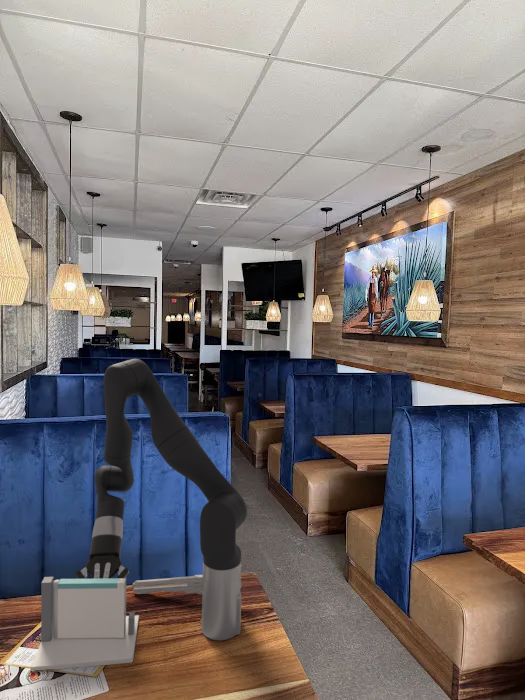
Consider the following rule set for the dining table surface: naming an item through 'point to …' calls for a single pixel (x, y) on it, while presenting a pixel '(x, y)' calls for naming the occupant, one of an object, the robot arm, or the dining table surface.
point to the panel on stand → (79, 642)
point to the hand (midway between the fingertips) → (98, 612)
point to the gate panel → (89, 608)
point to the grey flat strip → (192, 587)
